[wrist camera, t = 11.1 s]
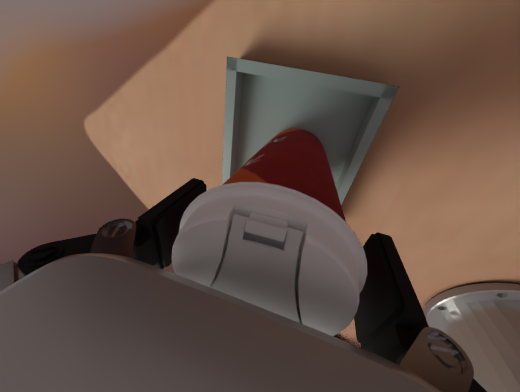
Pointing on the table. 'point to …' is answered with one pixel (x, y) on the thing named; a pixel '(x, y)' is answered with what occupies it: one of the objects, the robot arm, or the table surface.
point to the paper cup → (277, 237)
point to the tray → (301, 114)
